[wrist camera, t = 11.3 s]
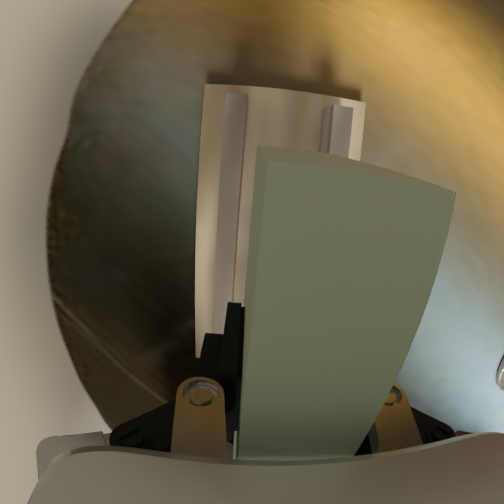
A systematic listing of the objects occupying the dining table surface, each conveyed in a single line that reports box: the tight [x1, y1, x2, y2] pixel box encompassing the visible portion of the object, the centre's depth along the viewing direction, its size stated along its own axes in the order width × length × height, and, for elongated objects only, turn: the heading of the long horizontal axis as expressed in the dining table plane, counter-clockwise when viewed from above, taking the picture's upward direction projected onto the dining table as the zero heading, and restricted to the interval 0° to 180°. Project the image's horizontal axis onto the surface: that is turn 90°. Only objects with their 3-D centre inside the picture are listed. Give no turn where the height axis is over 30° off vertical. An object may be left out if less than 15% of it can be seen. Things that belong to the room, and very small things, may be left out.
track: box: [195, 84, 366, 358], centre depth 21 cm, size 11×22×4 cm, turn 175°
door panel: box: [233, 145, 456, 461], centre depth 11 cm, size 3×14×9 cm, turn 175°
